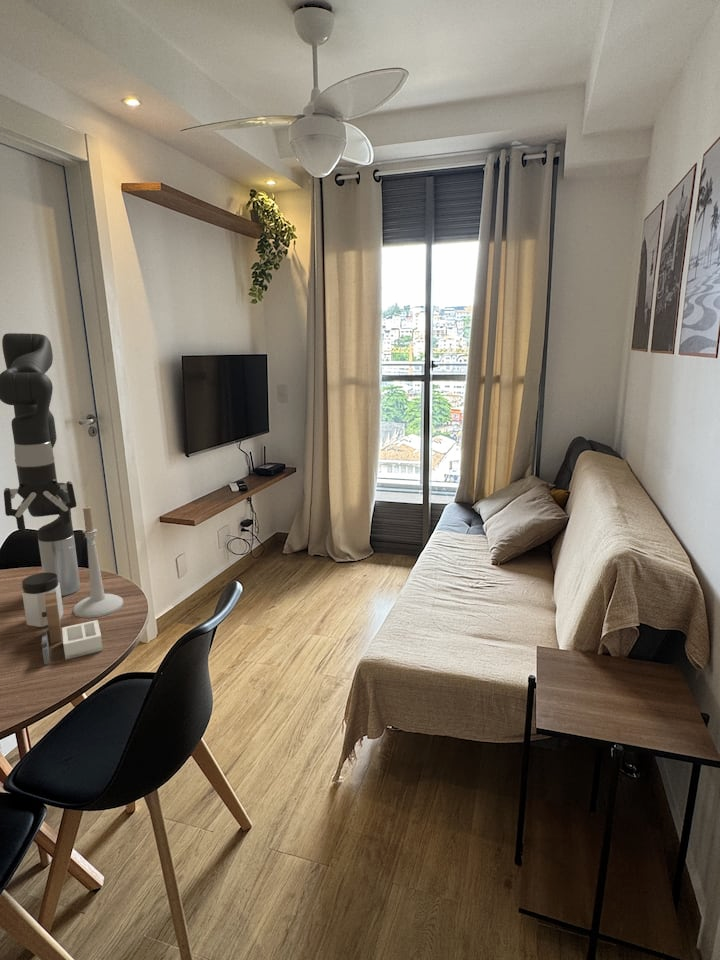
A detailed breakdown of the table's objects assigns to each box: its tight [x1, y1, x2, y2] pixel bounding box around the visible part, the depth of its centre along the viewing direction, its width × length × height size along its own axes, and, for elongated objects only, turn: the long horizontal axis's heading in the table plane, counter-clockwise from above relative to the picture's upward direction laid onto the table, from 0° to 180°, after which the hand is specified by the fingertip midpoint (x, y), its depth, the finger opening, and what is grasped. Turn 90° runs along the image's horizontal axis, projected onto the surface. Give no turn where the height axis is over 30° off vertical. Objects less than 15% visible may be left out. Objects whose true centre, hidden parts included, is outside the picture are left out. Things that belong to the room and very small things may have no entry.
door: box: [42, 592, 63, 644], centre depth 135 cm, size 8×3×10 cm, turn 31°
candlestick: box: [72, 506, 124, 619], centre depth 147 cm, size 13×13×30 cm
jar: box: [21, 572, 64, 628], centre depth 142 cm, size 9×8×12 cm
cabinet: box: [40, 619, 104, 666], centre depth 129 cm, size 9×12×5 cm
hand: (44, 528), depth 125 cm, fingers open, 8 cm apart
